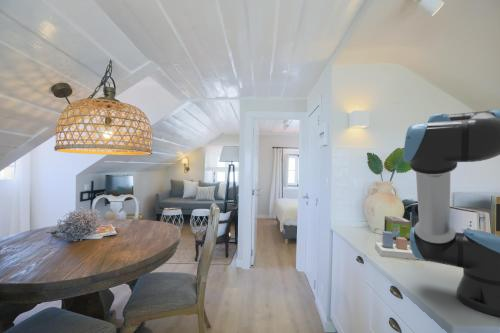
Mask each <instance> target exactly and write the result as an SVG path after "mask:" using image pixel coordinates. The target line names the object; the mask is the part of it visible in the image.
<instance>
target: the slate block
mask: <svg viewBox="0 0 500 333" xmlns="http://www.w3.org/2000/svg"><path fill="white" fill-rule="evenodd" d="M381 243H382V244H383V245H384V246H387V247H393V233H392V232H389V231H384V230H382V242H381Z"/></svg>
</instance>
